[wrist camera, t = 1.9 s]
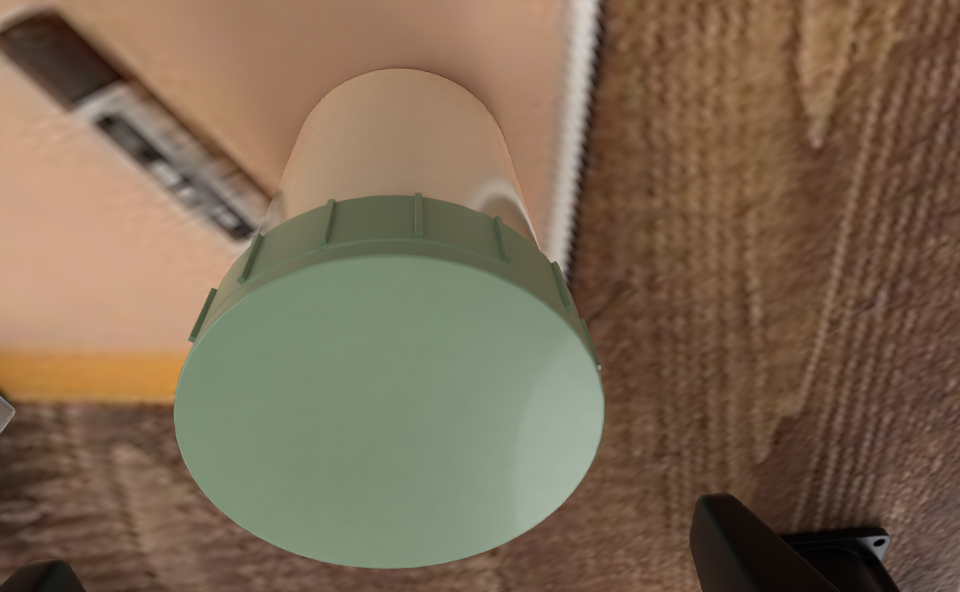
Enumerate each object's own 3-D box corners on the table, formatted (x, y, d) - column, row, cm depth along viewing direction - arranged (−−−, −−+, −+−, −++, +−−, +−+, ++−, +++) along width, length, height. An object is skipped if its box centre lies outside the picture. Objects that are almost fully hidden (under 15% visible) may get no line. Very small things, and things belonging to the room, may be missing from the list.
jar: (508, 59, 17) (590, 238, 9) (512, 261, 21) (574, 520, 13) (272, 75, 17) (148, 272, 9) (314, 276, 20) (251, 552, 12)
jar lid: (591, 176, 10) (623, 235, 9) (575, 472, 14) (595, 551, 12) (152, 207, 10) (104, 274, 8) (253, 502, 14) (232, 587, 12)
